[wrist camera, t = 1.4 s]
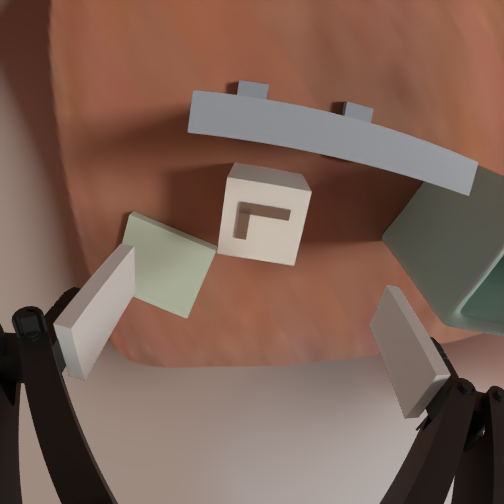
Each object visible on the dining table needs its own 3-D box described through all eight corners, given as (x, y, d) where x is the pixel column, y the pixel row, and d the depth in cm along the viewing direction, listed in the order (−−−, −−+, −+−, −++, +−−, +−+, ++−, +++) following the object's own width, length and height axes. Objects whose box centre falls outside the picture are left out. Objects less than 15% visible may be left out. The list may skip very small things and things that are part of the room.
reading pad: (133, 211, 29) (129, 214, 28) (217, 246, 30) (216, 250, 30) (115, 282, 33) (112, 286, 32) (188, 313, 34) (187, 318, 33)
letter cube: (234, 162, 27) (226, 178, 21) (301, 173, 27) (312, 192, 22) (225, 224, 30) (216, 254, 24) (288, 235, 30) (294, 266, 24)
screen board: (227, 136, 26) (182, 176, 12) (236, 80, 24) (200, 46, 9) (361, 162, 26) (457, 230, 12) (372, 109, 24) (486, 126, 10)
